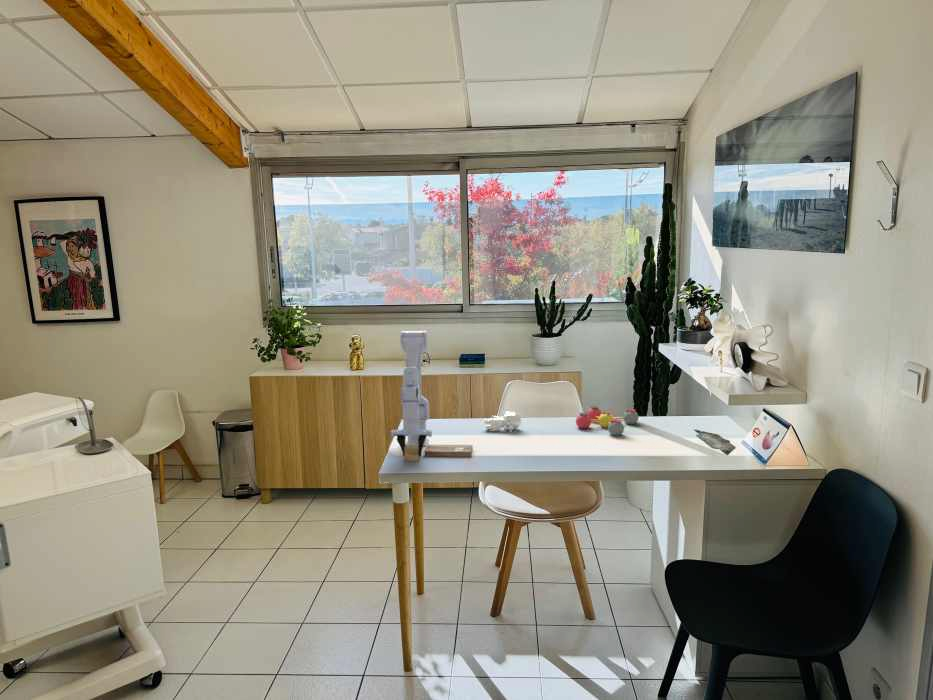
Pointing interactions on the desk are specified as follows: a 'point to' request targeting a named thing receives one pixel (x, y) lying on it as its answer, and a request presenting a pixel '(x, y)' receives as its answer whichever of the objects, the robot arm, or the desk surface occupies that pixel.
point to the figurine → (503, 422)
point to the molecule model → (606, 420)
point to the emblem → (715, 441)
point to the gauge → (411, 452)
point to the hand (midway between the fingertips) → (412, 455)
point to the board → (448, 450)
